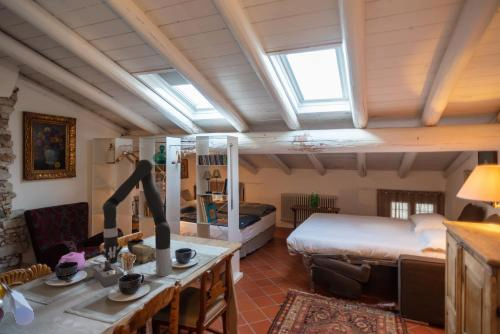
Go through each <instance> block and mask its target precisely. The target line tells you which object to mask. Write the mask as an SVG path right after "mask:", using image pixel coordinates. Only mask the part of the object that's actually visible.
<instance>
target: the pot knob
mask: <svg viewBox="0 0 500 334" xmlns="http://www.w3.org/2000/svg"><path fill="white" fill-rule="evenodd" d="M103 262H104V263H103V264H105V272H106V271H110V270H111V263H110V262H109V260H104V261H103Z"/></svg>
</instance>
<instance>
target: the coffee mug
mask: <svg viewBox="0 0 500 334" xmlns="http://www.w3.org/2000/svg"><path fill="white" fill-rule="evenodd" d="M117 249H118V248H117ZM117 249H116V251H117ZM116 251H115V252H116ZM105 253H106V254H107V255H108V252H107V251H106V250H105ZM100 254H101V255H102V257H104V258H105V259H106V260H105V261H107V260H109V258H107V257H105V256H104V255H103V254H102V253H101V252H100ZM118 255H119V254H118ZM118 255H117V256H115V262H114V265H115V264H117V262H118Z"/></svg>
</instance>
